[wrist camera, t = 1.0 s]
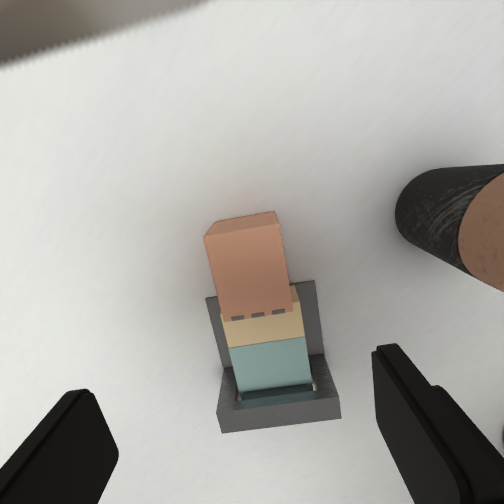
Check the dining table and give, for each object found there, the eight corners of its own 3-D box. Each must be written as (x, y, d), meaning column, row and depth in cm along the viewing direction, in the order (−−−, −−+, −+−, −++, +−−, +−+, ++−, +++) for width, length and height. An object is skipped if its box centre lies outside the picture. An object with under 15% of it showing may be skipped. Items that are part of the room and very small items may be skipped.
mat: (327, 379, 30) (328, 381, 30) (230, 392, 31) (230, 394, 31) (314, 280, 27) (314, 281, 27) (205, 298, 28) (205, 299, 27)
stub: (285, 281, 27) (293, 312, 21) (231, 290, 27) (223, 323, 21) (274, 211, 25) (279, 223, 19) (215, 221, 25) (202, 237, 19)
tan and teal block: (308, 376, 30) (315, 403, 26) (245, 385, 30) (244, 412, 27) (294, 285, 27) (299, 301, 23) (224, 296, 27) (220, 314, 24)
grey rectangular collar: (325, 371, 30) (341, 418, 24) (228, 385, 30) (221, 433, 25) (323, 353, 29) (338, 396, 23) (224, 367, 30) (216, 412, 24)
